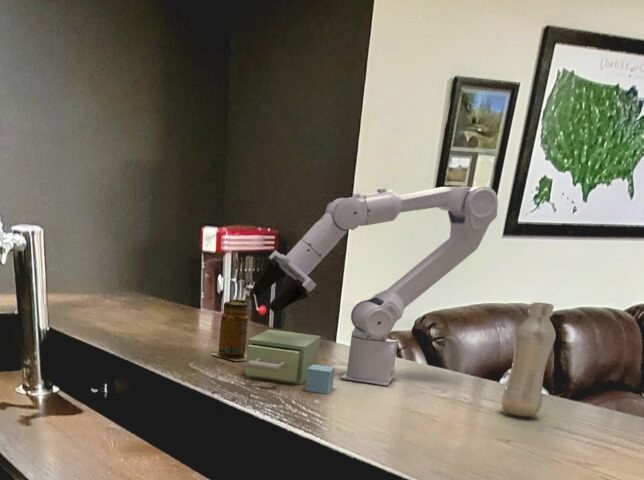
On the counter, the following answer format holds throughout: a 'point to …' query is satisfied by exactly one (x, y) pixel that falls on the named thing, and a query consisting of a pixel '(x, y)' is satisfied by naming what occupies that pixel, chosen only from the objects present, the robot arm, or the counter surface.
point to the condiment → (233, 331)
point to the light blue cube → (319, 379)
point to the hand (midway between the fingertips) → (262, 302)
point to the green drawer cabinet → (292, 341)
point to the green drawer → (272, 362)
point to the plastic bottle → (529, 361)
